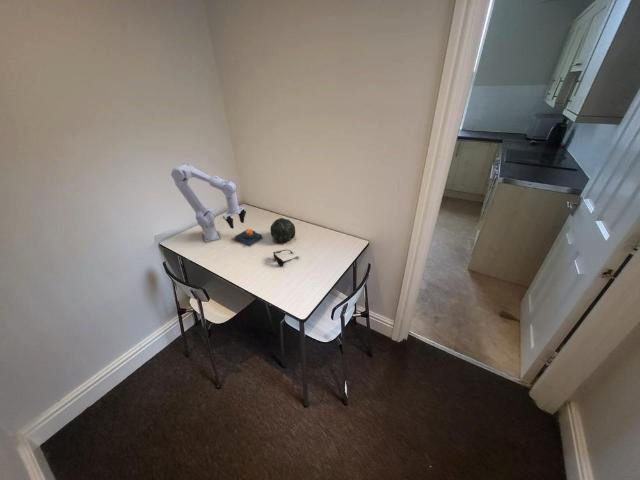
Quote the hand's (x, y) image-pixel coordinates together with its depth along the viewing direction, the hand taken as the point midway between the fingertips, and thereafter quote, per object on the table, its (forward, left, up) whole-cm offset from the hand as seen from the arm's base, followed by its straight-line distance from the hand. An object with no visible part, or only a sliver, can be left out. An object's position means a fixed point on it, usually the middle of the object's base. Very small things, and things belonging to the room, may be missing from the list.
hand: (237, 225), depth 148 cm
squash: (+12, +24, -10) cm, 28 cm away
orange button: (+4, +6, -5) cm, 9 cm away
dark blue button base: (+3, +5, -9) cm, 11 cm away
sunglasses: (+32, +18, -10) cm, 37 cm away
